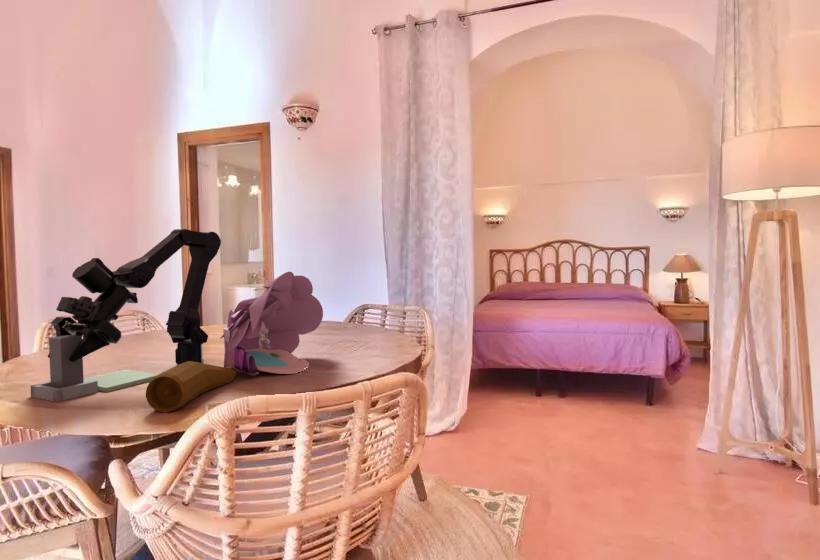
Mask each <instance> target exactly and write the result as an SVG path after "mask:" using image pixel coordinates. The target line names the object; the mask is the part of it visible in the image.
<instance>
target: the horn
mask: <svg viewBox="0 0 820 560" xmlns="http://www.w3.org/2000/svg"><path fill="white" fill-rule="evenodd" d="M236 373H237V372H235V371H234V370H233V369H230V368H225V367H224V366H219V365H214V364H207V363H204V362H203V363H198V362H193V361H187V362H184V363H181V364H179V365H177V364H176V365H175V366H173V367H171V368H169V369H167V370H165V371H163V372H161V373H157V374H158V375H156V376H155V377H154V378H153V379H152V380H151V381H149V382H148V385H147V386H146V389H145V399H146V402H147V403H148V405H149V406H150V407H151V408H152V409H153V410H155V411H156V412H160V413H170V412H175V411H176V410H178V409H179V408H182V407H183V406H185V404H188V402H191V400H193V399H194V398H196V397H197V396H199V395H201V394H203V393H206V392H208V391H211V390H213V389H215V388H218V387H220V386H224V385H226V384H228V383H231V382H232V381H233V380H234V379H235V378H236Z"/></svg>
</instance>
